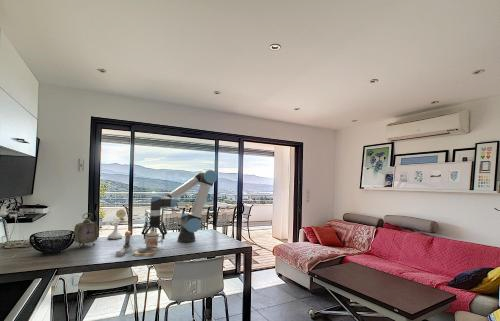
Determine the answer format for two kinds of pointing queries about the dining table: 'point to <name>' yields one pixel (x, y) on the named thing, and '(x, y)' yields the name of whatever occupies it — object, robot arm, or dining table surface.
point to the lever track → (123, 251)
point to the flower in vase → (115, 233)
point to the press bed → (145, 252)
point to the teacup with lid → (152, 239)
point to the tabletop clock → (86, 231)
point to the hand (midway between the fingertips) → (153, 243)
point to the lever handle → (127, 239)
